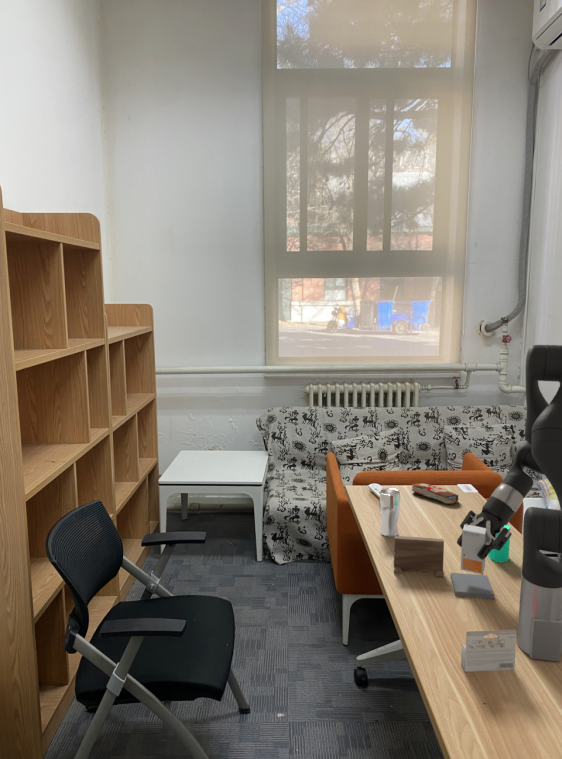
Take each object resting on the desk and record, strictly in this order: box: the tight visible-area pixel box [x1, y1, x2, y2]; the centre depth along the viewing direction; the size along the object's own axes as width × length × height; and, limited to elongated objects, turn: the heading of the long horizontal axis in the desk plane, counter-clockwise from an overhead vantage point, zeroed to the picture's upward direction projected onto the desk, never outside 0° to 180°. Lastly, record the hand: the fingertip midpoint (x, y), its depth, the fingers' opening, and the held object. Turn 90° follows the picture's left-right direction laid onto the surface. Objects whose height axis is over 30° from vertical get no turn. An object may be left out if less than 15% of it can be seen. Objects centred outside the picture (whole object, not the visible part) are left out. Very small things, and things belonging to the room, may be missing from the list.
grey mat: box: [450, 572, 495, 600], centre depth 146 cm, size 10×10×1 cm
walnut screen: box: [393, 535, 445, 578], centre depth 154 cm, size 6×14×10 cm, turn 79°
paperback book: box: [411, 482, 460, 505], centre depth 211 cm, size 11×20×5 cm, turn 25°
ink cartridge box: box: [460, 629, 518, 673], centre depth 113 cm, size 2×11×10 cm, turn 92°
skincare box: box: [460, 524, 486, 575], centre depth 144 cm, size 6×4×12 cm
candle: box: [487, 524, 511, 563], centre depth 161 cm, size 6×6×12 cm
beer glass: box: [379, 487, 401, 538], centre depth 179 cm, size 7×7×15 cm
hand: (469, 551), depth 144 cm, fingers closed on skincare box, 7 cm apart
